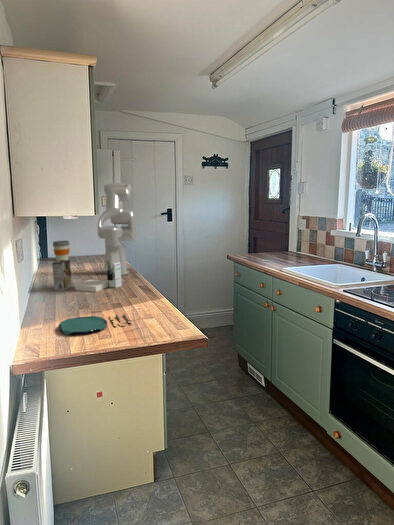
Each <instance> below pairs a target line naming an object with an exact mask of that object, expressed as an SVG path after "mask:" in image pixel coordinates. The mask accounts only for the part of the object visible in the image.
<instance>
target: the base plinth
mask: <svg viewBox="0 0 394 525" xmlns="http://www.w3.org/2000/svg"><path fill="white" fill-rule="evenodd" d="M106 288H109V287H108V280H100V279H99V280H97V279H87V280H84V281H82V282H79V283H77V284H75V285H74V290H75V291H79V292H82V291H83V292H93V293H97V292H99V291H102V290H104V289H106Z"/></svg>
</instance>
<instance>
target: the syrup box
mask: <svg viewBox="0 0 394 525" xmlns="http://www.w3.org/2000/svg"><path fill="white" fill-rule="evenodd" d="M109 268H110V267H109ZM112 276H113V280H112V281H111V280H107V281H108V287H107V288H113V289H116V288H117V289H118V288H120V287H122V275H121V265H120V262H117V263H114V264H113V269H112Z"/></svg>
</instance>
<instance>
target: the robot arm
mask: <svg viewBox="0 0 394 525" xmlns="http://www.w3.org/2000/svg"><path fill="white" fill-rule="evenodd" d="M103 192H104V194H105V211H103V213H102V214H101V215H100V217H99V219H98V221H97V236H98V238H100V239H104V244H105V245H104V247H105V248H104V249H105V252H104V270H105V272H106V276H107V277H106V278H107V279H106V281H108V280H111V281H112V280H113V276H112V269H113V264H114V263H117V262H120V265H121V276H123V275H127V274H129V273H130V271H129V270H127V269H129V268H130V266H129V265H127V254H126V253H127V252H126V246H125V244H124V243H123V242H124V241H127V242H128V241H134V240H135V239H136V234H137V233H136V216H135V213H134V210H132V209H124V206H123V204H124V203H123V202H129V201H130V200H131V196H132V185H131V184H130V183H127V182H110V183H105V184H104V186H103ZM109 219H110V223H111V224H112V225H104V223H105V222H106V221H107V220H109ZM120 225H127V226H120ZM109 267H110V268H109Z"/></svg>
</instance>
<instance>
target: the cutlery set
mask: <svg viewBox="0 0 394 525" xmlns="http://www.w3.org/2000/svg"><path fill="white" fill-rule="evenodd" d="M122 315H124V316H123V318H124V319H125V318H127V320H126V322H127V321H131V322H132V320H130V319H129V318H128V317H127V316H126V314H125V313H124V314H122ZM115 317H116V319H117V318H118V319H119V320H120V321H121V319H120V317H119V314H115ZM110 318H111V316H108V319H110ZM119 320H118V321H119ZM111 321H115V320H114V319H112V320H110V322H111ZM107 324H108V321H107V320H106V319H104V318H103V317H102V316H101V317H100V316H96V315H89V316H79V317H73V318H67V319H65V320H62V321H60V323H59V324H58V326H57V327H58V329H59V330H60V331H61V332H62V333H63V335H65V336H68V335H69V336H70V335H71V334H88V333H93V332H97V331H102V330H104V329H106V328H107ZM95 329H96V330H95ZM91 330H93V331H91Z"/></svg>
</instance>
